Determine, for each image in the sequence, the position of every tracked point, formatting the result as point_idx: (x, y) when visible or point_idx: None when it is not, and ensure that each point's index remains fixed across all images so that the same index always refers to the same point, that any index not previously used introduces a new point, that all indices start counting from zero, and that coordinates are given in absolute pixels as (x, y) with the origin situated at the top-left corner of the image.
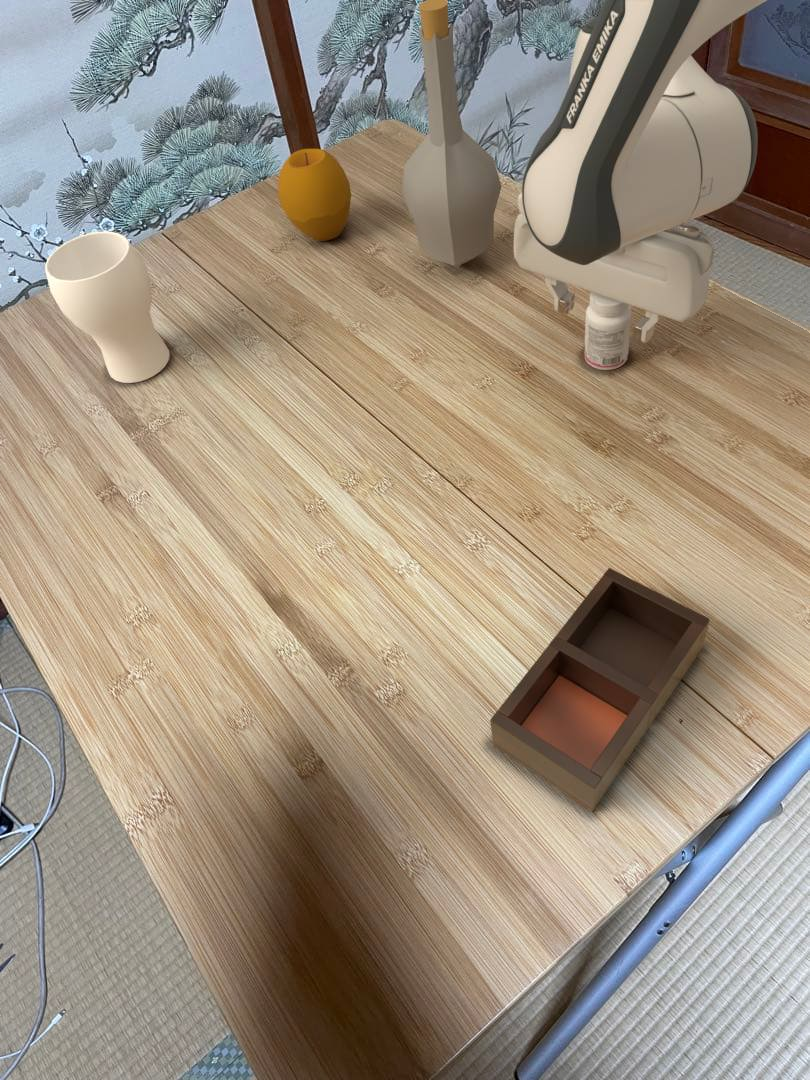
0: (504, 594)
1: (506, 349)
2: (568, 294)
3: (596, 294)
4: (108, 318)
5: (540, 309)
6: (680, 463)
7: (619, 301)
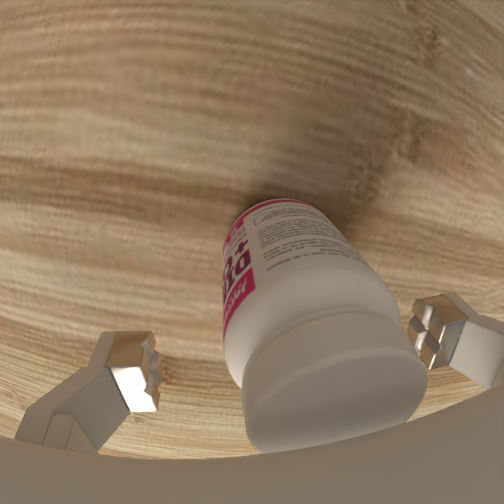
0: None
1: (80, 342)
2: (127, 381)
3: (289, 447)
4: None
5: (24, 193)
6: None
7: (398, 422)
